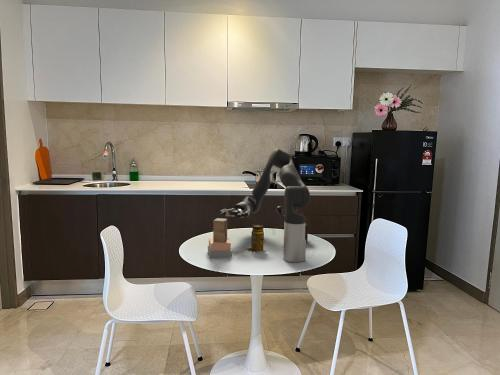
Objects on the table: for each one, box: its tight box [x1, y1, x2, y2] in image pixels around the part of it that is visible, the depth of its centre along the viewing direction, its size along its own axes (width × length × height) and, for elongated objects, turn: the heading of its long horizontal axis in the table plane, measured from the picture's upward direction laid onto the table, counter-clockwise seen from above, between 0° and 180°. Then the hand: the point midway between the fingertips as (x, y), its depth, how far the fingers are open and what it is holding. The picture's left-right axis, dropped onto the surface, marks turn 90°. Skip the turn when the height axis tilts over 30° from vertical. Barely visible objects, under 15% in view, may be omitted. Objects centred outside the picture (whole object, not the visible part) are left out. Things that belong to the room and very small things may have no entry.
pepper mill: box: [275, 205, 309, 244], centre depth 202 cm, size 16×11×18 cm
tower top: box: [208, 237, 232, 251], centre depth 178 cm, size 9×9×4 cm
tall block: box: [212, 217, 228, 243], centre depth 176 cm, size 5×5×10 cm
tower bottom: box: [207, 245, 233, 259], centre depth 178 cm, size 10×10×4 cm
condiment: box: [244, 224, 267, 254], centre depth 184 cm, size 7×8×12 cm
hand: (229, 215), depth 186 cm, fingers open, 8 cm apart
